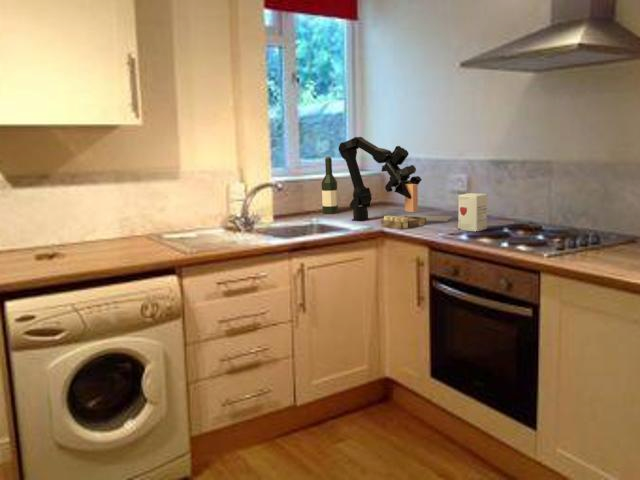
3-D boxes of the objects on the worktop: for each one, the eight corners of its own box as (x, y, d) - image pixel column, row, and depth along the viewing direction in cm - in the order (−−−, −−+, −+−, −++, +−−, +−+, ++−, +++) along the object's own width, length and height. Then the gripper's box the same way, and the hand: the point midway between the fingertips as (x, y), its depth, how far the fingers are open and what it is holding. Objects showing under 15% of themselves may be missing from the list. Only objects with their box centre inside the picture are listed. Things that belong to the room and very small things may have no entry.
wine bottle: (321, 212, 330) (319, 157, 325) (337, 211, 331) (335, 156, 325) (323, 214, 322) (321, 157, 316) (339, 213, 323) (337, 156, 317)
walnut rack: (381, 229, 268) (381, 220, 268) (406, 224, 278) (406, 215, 277) (401, 231, 259) (401, 222, 258) (426, 226, 269) (426, 217, 268)
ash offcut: (384, 226, 269) (384, 216, 268) (389, 225, 271) (388, 215, 270) (392, 227, 265) (392, 217, 264) (397, 226, 267) (397, 216, 266)
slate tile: (403, 223, 282) (403, 220, 282) (410, 218, 294) (410, 215, 294) (446, 224, 274) (446, 220, 274) (452, 219, 287) (452, 216, 286)
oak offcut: (394, 227, 264) (394, 217, 263) (399, 226, 266) (399, 216, 265) (403, 228, 260) (403, 218, 259) (408, 228, 262) (407, 217, 261)
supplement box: (457, 230, 258) (457, 194, 255) (468, 227, 264) (468, 192, 261) (476, 231, 251) (476, 195, 249) (487, 228, 258) (487, 193, 255)
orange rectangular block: (404, 211, 271) (404, 184, 269) (409, 210, 273) (409, 183, 271) (413, 212, 268) (412, 184, 265) (417, 211, 269) (417, 184, 267)
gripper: (389, 160, 264) (408, 187, 257) (418, 158, 275) (437, 183, 269) (376, 178, 271) (395, 204, 265) (405, 175, 283) (423, 200, 276)
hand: (413, 197), depth 268 cm, fingers closed on orange rectangular block, 3 cm apart
